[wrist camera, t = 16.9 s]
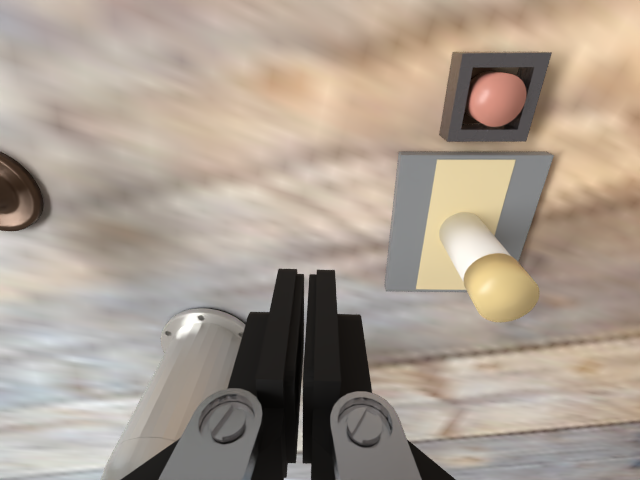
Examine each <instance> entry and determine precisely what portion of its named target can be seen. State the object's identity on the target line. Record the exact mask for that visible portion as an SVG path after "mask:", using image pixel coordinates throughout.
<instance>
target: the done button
mask: <svg viewBox="0 0 640 480" xmlns="http://www.w3.org/2000/svg"><path fill="white" fill-rule="evenodd" d="M525 101H526V87H525V85H524V83H523V81H522V80H521V79H520V78H519V77H517V76H515V75H512V74H508V73H502V72H497V71H485V72H482V73H480V74H478V75H477V76H475V77H474V78H473V79H472V80H471V81H470V85H469V90H468V96H467V101H466V106H465V112H466V113H467V115H469V116H470V117H472V118H473V119H475V120H477V121H479V122H481V123H482V124H484V125H486V126H490V127H498V126H502V125H505V124H507V123H509V122H511V121H512V120H513V119H514V118H515V117H516V116H517V115H518V114H519V113H520V112H521V110H522V108H523V106H524V104H525Z"/></svg>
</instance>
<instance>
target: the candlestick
mask: <svg viewBox="0 0 640 480" xmlns="http://www.w3.org/2000/svg"><path fill="white" fill-rule="evenodd" d="M42 211H43V198H42V195H41V192H40V189H39V187H38V185H37V183H36V182H35V180H34V179H33V178H32V176H31V175H30V174H29V173H28V172H27V171H26V170H25V169H24V167H23V166H21V165H20V164H19V163H18V162H16V161H15V160H14V159H12V158H10V157H9V156H7V155H5V154H3V153H1V152H0V230H2V231H18V230H22V229H25V228H26V227H28V226H30V225H31V224H33V223H34V222H36V221H37V220H38V219H39V218H40V216H41V213H42Z"/></svg>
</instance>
